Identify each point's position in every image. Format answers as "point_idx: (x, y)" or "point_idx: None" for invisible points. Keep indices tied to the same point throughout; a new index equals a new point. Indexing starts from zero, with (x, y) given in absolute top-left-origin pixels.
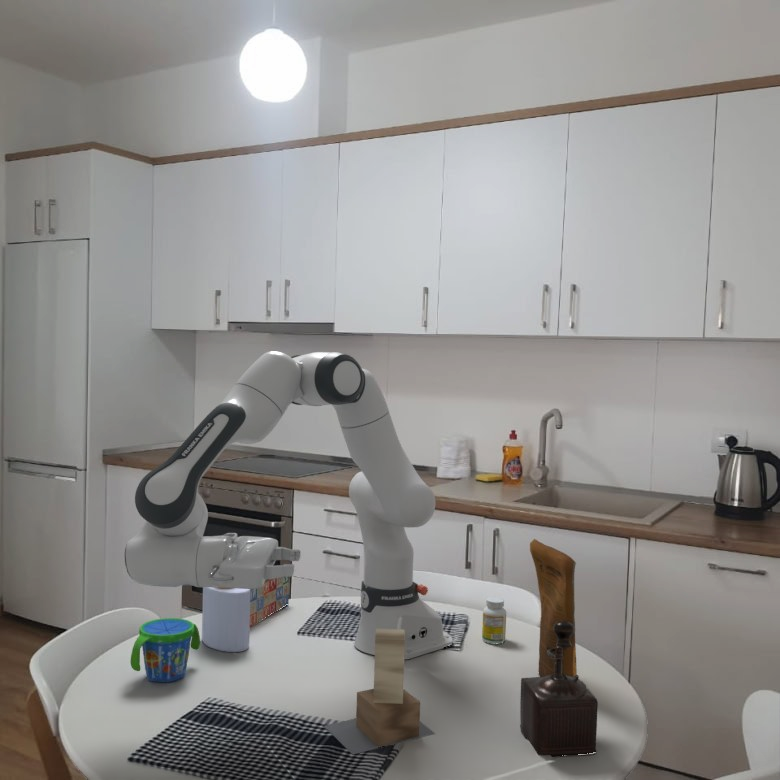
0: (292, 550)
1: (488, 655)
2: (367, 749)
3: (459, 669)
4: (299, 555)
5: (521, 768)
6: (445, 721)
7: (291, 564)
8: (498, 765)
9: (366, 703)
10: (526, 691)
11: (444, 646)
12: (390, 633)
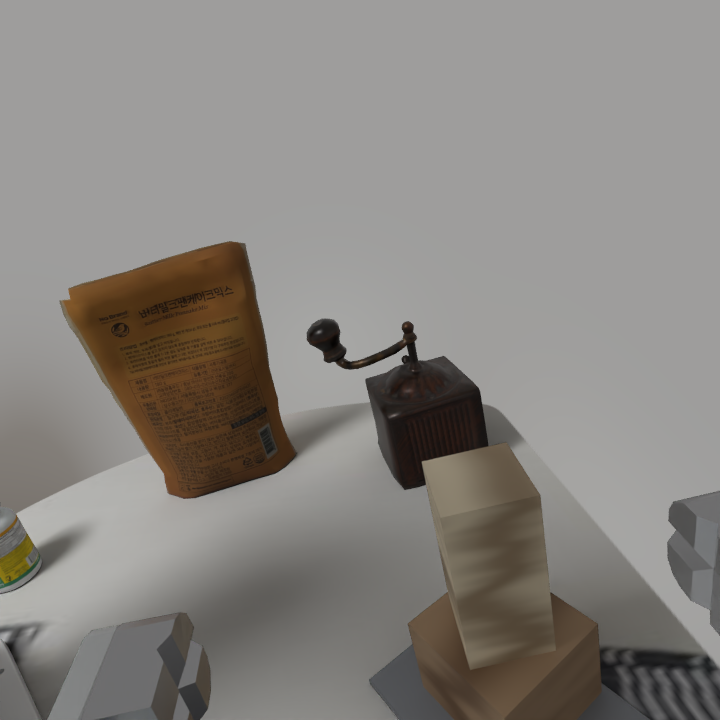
0: (106, 691)
1: (90, 572)
2: (634, 714)
3: (148, 609)
4: (190, 632)
5: (535, 472)
6: (407, 589)
7: (707, 503)
8: (542, 494)
9: (550, 679)
10: (419, 417)
11: (11, 656)
12: (469, 477)
